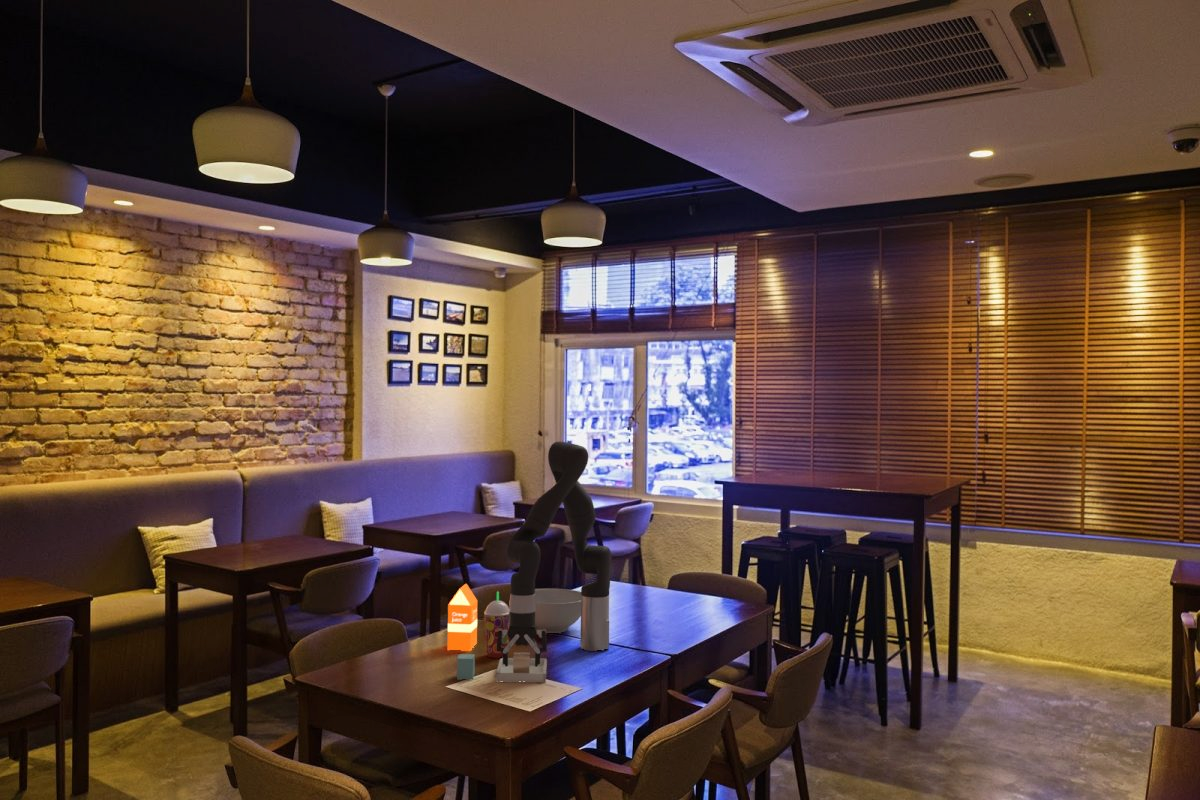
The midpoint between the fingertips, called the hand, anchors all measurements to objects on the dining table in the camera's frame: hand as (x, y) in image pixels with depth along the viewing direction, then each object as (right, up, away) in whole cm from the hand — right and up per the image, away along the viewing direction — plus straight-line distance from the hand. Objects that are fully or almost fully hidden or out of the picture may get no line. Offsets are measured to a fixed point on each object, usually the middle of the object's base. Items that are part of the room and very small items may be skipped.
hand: (521, 665), depth 253 cm
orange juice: (-22, -4, +33) cm, 40 cm away
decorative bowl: (+5, -5, +58) cm, 58 cm away
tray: (0, -4, +4) cm, 5 cm away
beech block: (0, -3, 0) cm, 3 cm away
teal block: (-16, -3, 0) cm, 16 cm away
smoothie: (-10, -4, +24) cm, 26 cm away
